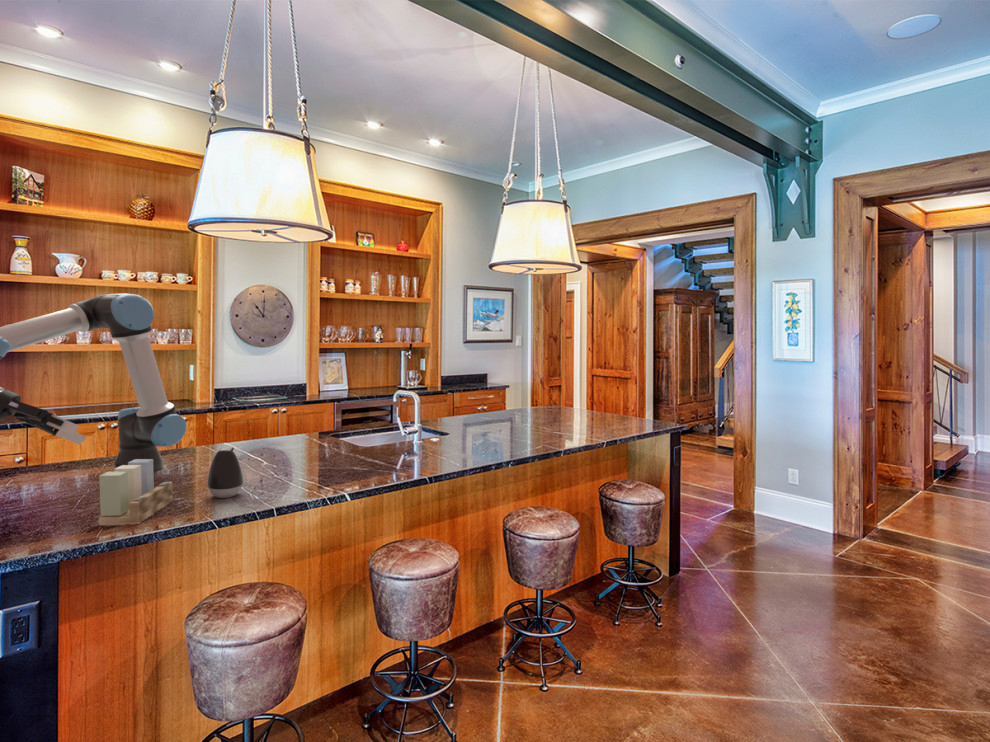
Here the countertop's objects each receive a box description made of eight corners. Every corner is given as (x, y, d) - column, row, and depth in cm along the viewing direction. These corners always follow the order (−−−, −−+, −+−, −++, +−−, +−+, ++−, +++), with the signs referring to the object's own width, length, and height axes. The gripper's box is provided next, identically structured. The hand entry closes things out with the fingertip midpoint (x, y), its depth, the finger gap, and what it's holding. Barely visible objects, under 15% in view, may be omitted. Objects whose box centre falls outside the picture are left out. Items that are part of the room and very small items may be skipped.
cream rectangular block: (123, 502, 158) (122, 465, 157) (142, 502, 158) (140, 465, 157) (115, 507, 154) (114, 468, 153) (134, 506, 154) (133, 468, 153)
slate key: (136, 495, 164) (135, 459, 164) (154, 494, 165) (153, 459, 164) (129, 499, 160) (127, 462, 160) (147, 499, 161) (146, 462, 160)
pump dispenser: (249, 490, 179) (248, 445, 177) (234, 500, 168) (234, 452, 167) (217, 490, 178) (216, 444, 177) (201, 500, 168) (200, 451, 167)
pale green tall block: (109, 510, 151) (108, 471, 150) (128, 510, 151) (127, 471, 150) (100, 515, 147) (99, 475, 146) (120, 515, 147) (119, 475, 146)
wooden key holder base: (138, 501, 166) (137, 480, 165) (172, 501, 167) (172, 480, 166) (98, 525, 146) (97, 502, 145) (138, 524, 147) (137, 501, 146)
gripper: (-2, 424, 155) (77, 455, 162) (-30, 400, 135) (62, 438, 141) (16, 401, 159) (93, 433, 165) (-7, 375, 138) (82, 413, 145)
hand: (79, 435), depth 153 cm, fingers open, 13 cm apart
